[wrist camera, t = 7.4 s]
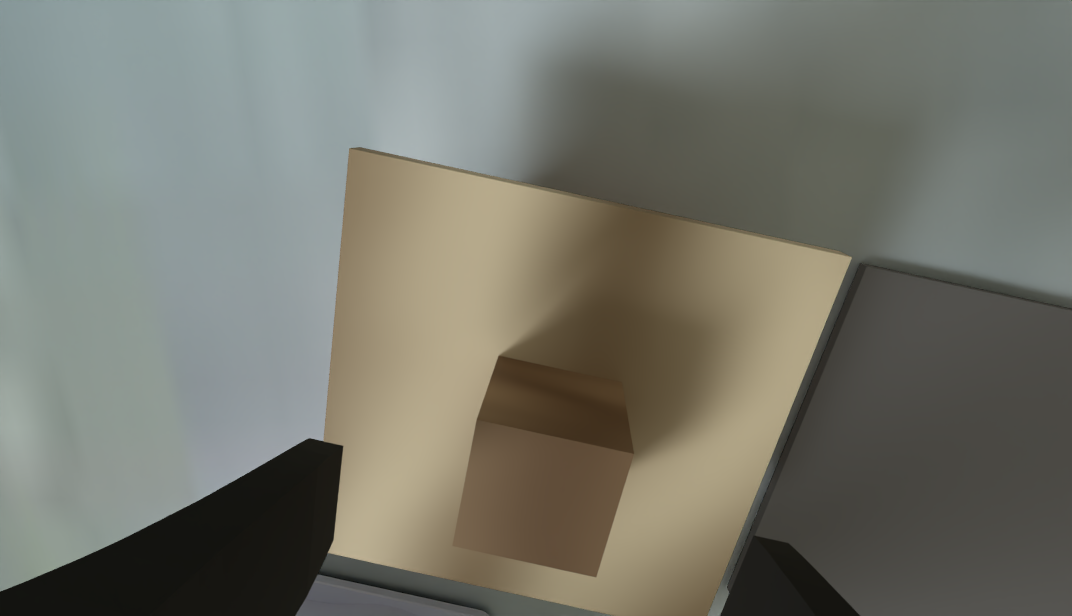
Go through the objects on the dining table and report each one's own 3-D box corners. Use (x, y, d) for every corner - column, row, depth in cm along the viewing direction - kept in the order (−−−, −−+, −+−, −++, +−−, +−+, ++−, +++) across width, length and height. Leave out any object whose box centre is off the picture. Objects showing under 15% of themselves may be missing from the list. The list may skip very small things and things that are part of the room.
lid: (323, 534, 16) (254, 645, 13) (360, 147, 12) (277, 156, 9) (695, 616, 16) (727, 750, 13) (839, 251, 12) (939, 299, 9)
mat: (727, 586, 21) (730, 595, 21) (860, 263, 17) (866, 266, 16) (1061, 660, 21) (1069, 669, 21) (1278, 353, 17) (1294, 359, 16)
